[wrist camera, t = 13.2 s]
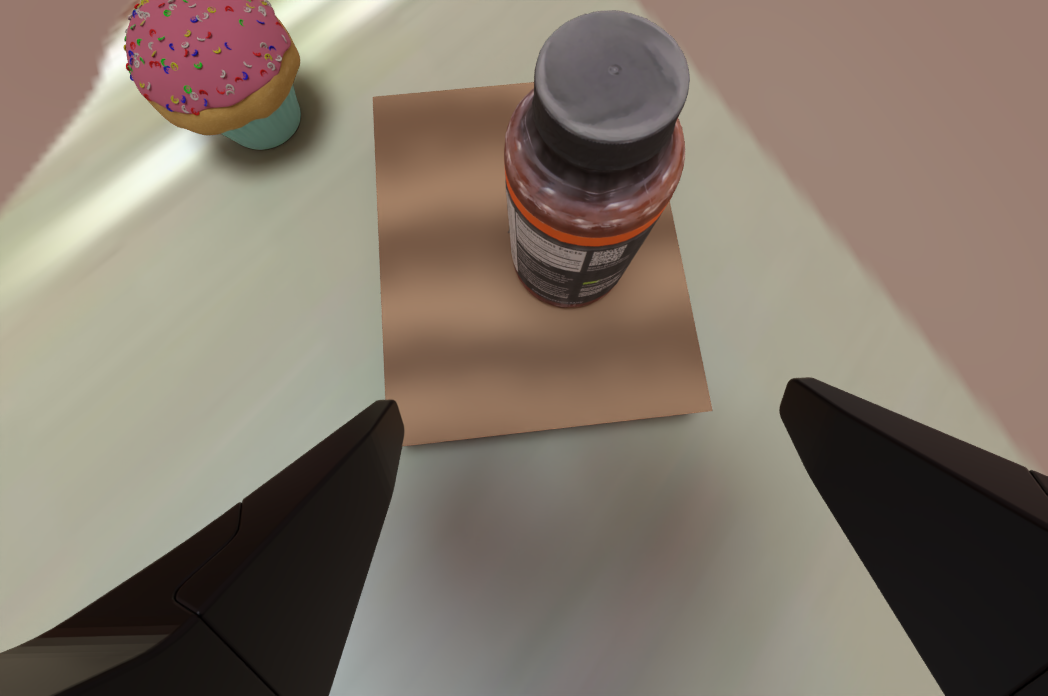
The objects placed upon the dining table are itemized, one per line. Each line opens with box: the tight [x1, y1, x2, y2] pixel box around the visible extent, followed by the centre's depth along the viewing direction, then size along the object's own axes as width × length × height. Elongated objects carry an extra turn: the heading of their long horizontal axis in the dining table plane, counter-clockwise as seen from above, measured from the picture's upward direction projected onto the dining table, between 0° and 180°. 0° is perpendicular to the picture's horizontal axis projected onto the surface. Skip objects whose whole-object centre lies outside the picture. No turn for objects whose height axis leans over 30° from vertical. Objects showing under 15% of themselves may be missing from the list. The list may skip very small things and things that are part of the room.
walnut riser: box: [373, 82, 712, 446], centre depth 23 cm, size 20×16×3 cm
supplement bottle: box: [504, 10, 690, 307], centre depth 15 cm, size 6×6×11 cm
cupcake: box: [124, 0, 301, 150], centre depth 20 cm, size 9×8×12 cm
